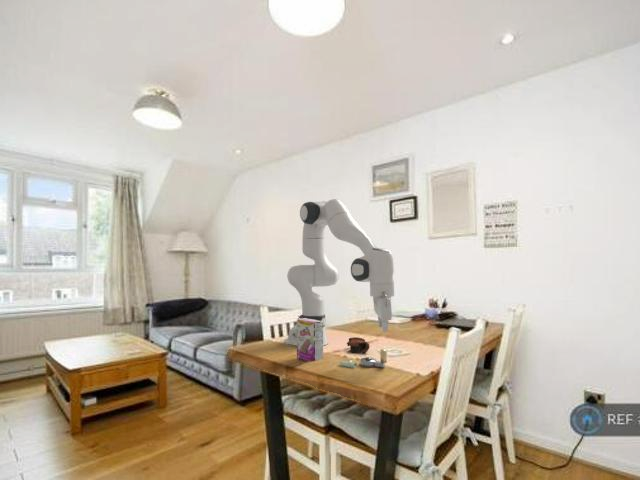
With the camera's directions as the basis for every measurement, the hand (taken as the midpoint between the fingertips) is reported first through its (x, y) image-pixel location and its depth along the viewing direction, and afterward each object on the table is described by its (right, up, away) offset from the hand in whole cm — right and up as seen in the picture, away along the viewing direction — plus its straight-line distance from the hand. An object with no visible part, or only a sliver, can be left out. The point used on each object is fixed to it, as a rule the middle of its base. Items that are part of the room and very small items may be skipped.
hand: (383, 329), depth 120 cm
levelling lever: (-3, -14, +1) cm, 14 cm away
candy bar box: (-27, -17, +13) cm, 35 cm away
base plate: (-5, -16, +2) cm, 16 cm away
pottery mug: (-7, -17, +22) cm, 29 cm away
